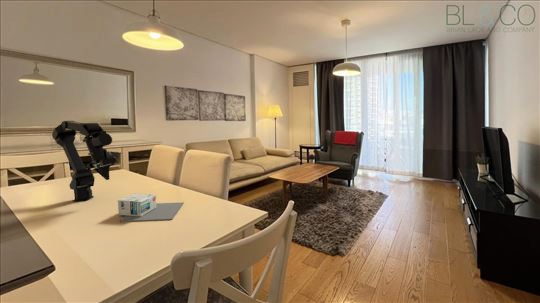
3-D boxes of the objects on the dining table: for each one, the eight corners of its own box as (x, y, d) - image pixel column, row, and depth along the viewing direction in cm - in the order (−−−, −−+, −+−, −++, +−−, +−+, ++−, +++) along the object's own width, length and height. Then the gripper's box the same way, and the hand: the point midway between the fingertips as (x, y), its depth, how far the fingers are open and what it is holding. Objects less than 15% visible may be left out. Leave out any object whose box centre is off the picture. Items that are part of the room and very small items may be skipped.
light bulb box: (118, 215, 104) (141, 217, 102) (117, 199, 103) (140, 201, 101) (135, 206, 114) (157, 208, 113) (135, 192, 113) (156, 194, 112)
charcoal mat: (120, 222, 98) (119, 220, 98) (140, 204, 118) (140, 203, 118) (172, 219, 101) (172, 218, 101) (183, 203, 120) (183, 202, 120)
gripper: (122, 141, 118) (133, 172, 121) (105, 147, 129) (115, 175, 131) (97, 147, 109) (110, 180, 112) (80, 153, 120) (93, 183, 122)
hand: (108, 179), depth 120 cm, fingers closed
